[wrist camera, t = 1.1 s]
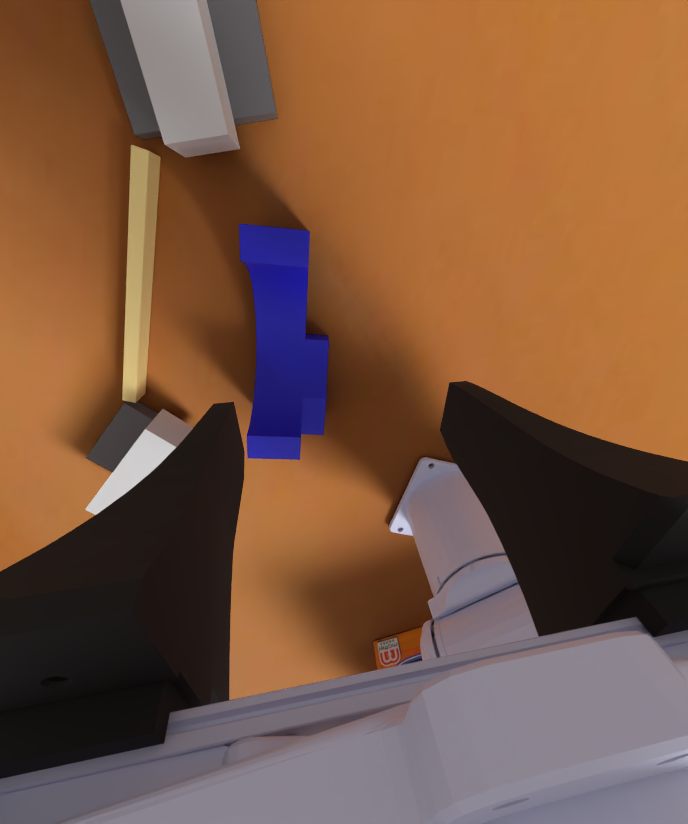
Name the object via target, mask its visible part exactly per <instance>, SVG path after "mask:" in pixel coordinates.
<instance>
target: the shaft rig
mask: <svg viewBox="0 0 688 824" xmlns="http://www.w3.org/2000/svg"><path fill="white" fill-rule="evenodd" d="M90 3H91V6H92V9H93V12H94V15H95V18H96V21H97V24H98V27H99V30H100V33H101V36H102V39H103V42H104V45H105V48H106V51H107V54H108V57H109V60H110V63H111V66H112V69H113V72H114V75H115V78H116V81H117V84H118V87H119V90H120V93H121V96H122V99H123V102H124V105H125V108H126V111H127V114H128V117H129V120H130V123H131V126H132V129H133V132H134V135H136V136H138V137H139V138H141V139H143V140H145V139H151V138H157V137H162V138H163V142H164V145H166V146H168V147H169V148H171V149H172V150H174V151H176V152H177V153H179V154H180V155H182V156H184V157H185V158H186V157H192V156H199V155H205V154H211V153H218V152H224V151H230V150H237V149H240V146H239V141H238V137H237V133H236V128H235V125H240V124H246V123H252V122H259V121H265V120H271V119H278V118H277V112H276V107H275V101H274V96H273V90H272V85H271V79H270V74H269V68H268V63H267V57H266V51H265V46H264V40H263V35H262V29H261V24H260V18H259V13H258V7H257V2H256V0H90ZM160 160H161V157H160V156H158V155H156V154H154V153H152V152H150V151H148V150H145V149H142V148H140V147H137V146H134V145H131V162H130V191H129V220H128V249H127V278H126V307H125V336H124V365H123V394H122V400H124V401H126V402H125V403H124V404H123V406H122V407H121V408H120V410H119V411H118V413H117V414H116V416H115V417H114V419H113V420H112V421H111V423H110V424H109V426H108V427H107V429H106V430H105V431H104V433H103V434H102V436H101V437H100V439H99V440H98V441H97V443H96V444H95V446H94V447H93V449H92V450H91V452H90V453H89V454H88V456H87V457H86V458H87V459H89V460H91V461H93V462H94V463H96V464H98V465H100V466H102V467H104V468H106V469H108V470H110V471H112V472H113V473H112V474H111V476H110V477H109V478H108V480H107V481H106V482H105V484H104V485H103V486H102V488H101V489H100V490H99V492H98V493H97V494H96V496H95V497H94V498H93V500H92V501H91V502H90V504H89V505H88V507H87V508H86V509H85V510H87V511H89V512H91V513H93V514H95V515H96V514H98V513H99V512H101V511H102V510H103V509H105V508H106V507H107V506H109V505H110V504H112V503H113V502H114V501H116V500H117V499H118V498H120V497H121V496H123V495H124V494H125V493H127V492H128V491H129V490H130V489H132V488H133V487H134V486H135V485H137V484H138V483H139V482H140V481H141V480H142V479H144V478H145V477H146V476H147V475H148V474H150V473H151V472H152V471H153V470H154V469H155V468H156V467H157V466H158V465H159V464H160V463H161V462H162V461H163V460H164V459H165V458H166V457H167V456H168V455H169V454H170V453H171V452H172V451H173V450H174V449H175V448H176V447H177V446H178V445H179V444H180V443H181V442H182V441H183V439H184V438H185V437H186V436H187V435H188V434H189V433H190V431H191V430H192V429H193V427H192V426H190V425H189V424H187V423H185V422H184V421H182V420H180V419H179V418H177V417H176V416H174V415H172V414H171V413H169V412H168V411H166V410H164V409H162V410H161V411H160V413H159V414H158V413H157V412H155V411H154V410H152V409H150V408H149V407H147V406H145V405H144V404H142V403H140V402H139V401H138V400H139V399H140V398H141V397H142V396H143V395H145V393H146V377H147V362H148V346H149V331H150V315H151V300H152V284H153V269H154V253H155V238H156V222H157V207H158V191H159V176H160Z"/></svg>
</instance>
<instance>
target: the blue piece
mask: <svg viewBox="0 0 688 824" xmlns="http://www.w3.org/2000/svg"><path fill="white" fill-rule="evenodd" d="M239 235H240V262H244V263H245V264H246V266H247V268H248V271H249V274H250V278H251V282H252V288H253V294H254V303H255V314H256V340H257V351H256V379H255V392H254V401H253V409H252V415H251V421H250V426H249V430H248V433H247V455H248V458H261V459H297V460H300V446H301V434H314V435H324V423H325V410H326V392H327V366H328V348H329V338H328V336H327V335H313V334H306V311H307V287H308V263H309V240H310V231H306V230H296V229H286V228H277V227H267V226H257V225H248V224H239Z"/></svg>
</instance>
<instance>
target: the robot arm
mask: <svg viewBox="0 0 688 824" xmlns="http://www.w3.org/2000/svg"><path fill="white" fill-rule="evenodd" d="M440 431H441V433H442V436H443V438H444V441H445V443H446V445H447V448H448V450H449V452H450V454H451V456H452V458H453V459H454V461H455V462H456V464H455V463H450V462H446V461H441V460H437V459H432V458H428V457H424V458H421V459H420V460H419V462H418V464H417V466H416V469H415V471H414V473H413V475H412V477H411V479H410V482H409V484H408V486H407V488H406V490H405V492H404V494H403V497H402V499H401V501H400V503H399V505H398V507H397V509H396V512H395V514H394V516H393V518H392V520H391V522H390V524H389V529H390V531H391V532H394V533H400V534H405V535H411V536H413V537H414V540H415V543H416V546H417V549H418V552H419V555H420V558H421V561H422V564H423V567H424V570H425V573H426V576H427V579H428V582H429V584H430V587H431V590H432V593H433V596H434V597H433V598H432V599H430V600H428V605H429V608H430V611H431V615H432V618H433V619H431V620H428V621H426V622H425V623H424V624H423V627H422V634H421V639H420V649H421V656H422V661H418V662H413V663H409V664H404V665H399V666H394V667H389V668H384V669H379V670H375V671H370V672H365V673H360V674H355V675H350V676H345V677H340V678H336V679H331V680H326V681H321V682H316V683H311V684H306V685H301V686H297V687H292V688H287V689H282V690H277V691H272V692H267V693H263V694H258V695H253V696H248V697H243V698H238V699H233V700H229V652H230V610H231V582H232V562H233V548H234V539H235V533H236V527H237V520H238V514H239V507H240V501H241V494H242V488H243V481H244V447H243V443H242V438H241V433H240V429H239V424H238V419H237V415H236V410H235V406H234V402H229V403H218V404H213V405H212V406H211V408H210V409H209V410H208V411H207V412H206V413H205V415H204V416H203V417H202V418H201V420H200V421H199V422H198V423H197V424H196V426H195V427H194V428H193V429H192V430H191V431H190V433H189V434H188V435H187V436H186V437H185V438H184V439H183V441H182V442H181V443H180V444H179V445H178V446H177V447H176V448H175V449H174V450H173V451H172V452H171V453H170V454H169V455H168V456H167V457H166V458H165V459H164V460H163V461H162V462H161V463H160V464H159V465H158V466H157V467H156V468H155V469H154V470H153V471H152V472H151V473H150V474H148V475H147V476H146V477H145V478H144V479H142V480H141V481H140V482H139V483H138V484H137V485H135V486H134V487H133V488H132V489H130V490H129V491H128V492H127V493H125V494H124V495H123V496H121V497H120V498H118V499H117V500H116V501H114V502H113V503H112V504H110V505H109V506H107V507H106V508H105V509H103V510H102V511H101V512H99V513H98V514H96V515H95V516H94V517H92V518H91V519H89V520H88V521H86V522H84V523H83V524H81V525H80V526H78V527H77V528H75V529H74V530H72V531H70V532H69V533H67V534H66V535H64V536H62V537H61V538H59V539H57V540H56V541H54V542H53V543H51V544H49V545H47V546H46V547H44V548H42V549H41V550H39V551H37V552H35V553H33V554H32V555H30V556H28V557H26V558H24V559H22V560H21V561H19V562H17V563H15V564H13V565H11V566H10V567H8V568H6V569H4V570H2V571H1V572H0V824H688V462H687V461H682V460H677V459H673V458H669V457H664V456H660V455H656V454H651V453H647V452H643V451H640V450H636V449H632V448H628V447H625V446H621V445H618V444H615V443H611V442H608V441H605V440H601V439H598V438H595V437H592V436H589V435H586V434H584V433H581V432H578V431H576V430H573V429H570V428H567V427H565V426H562V425H560V424H557V423H555V422H553V421H550V420H548V419H546V418H543V417H541V416H539V415H537V414H534V413H532V412H530V411H528V410H526V409H524V408H522V407H520V406H518V405H516V404H514V403H512V402H510V401H508V400H506V399H504V398H502V397H500V396H498V395H496V394H494V393H492V392H490V391H488V390H486V389H484V388H481V387H479V386H477V385H475V384H473V383H470V382H467V381H462V382H450V383H449V388H448V393H447V398H446V403H445V408H444V413H443V418H442V423H441V428H440ZM431 463H433V464H432V465H431V466H428V465H429V464H431ZM400 527H402V528H400ZM398 528H399V529H398Z"/></svg>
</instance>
